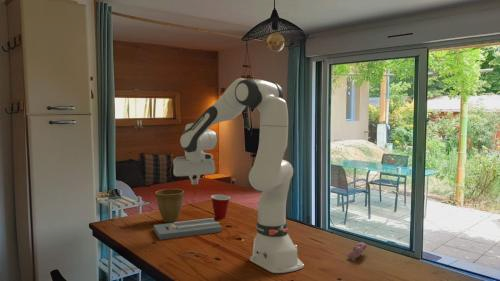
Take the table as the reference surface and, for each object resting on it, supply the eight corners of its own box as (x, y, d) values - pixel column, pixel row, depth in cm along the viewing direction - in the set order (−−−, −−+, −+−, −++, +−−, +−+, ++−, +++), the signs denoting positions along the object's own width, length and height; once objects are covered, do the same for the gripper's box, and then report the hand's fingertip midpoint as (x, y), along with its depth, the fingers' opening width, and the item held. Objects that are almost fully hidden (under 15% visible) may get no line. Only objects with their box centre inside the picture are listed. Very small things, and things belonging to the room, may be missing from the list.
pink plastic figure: (356, 264, 147) (364, 250, 145) (346, 257, 149) (354, 243, 147) (362, 256, 155) (370, 243, 153) (352, 250, 157) (360, 236, 155)
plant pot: (171, 215, 212) (170, 187, 211) (190, 219, 203) (189, 190, 202) (150, 221, 200) (149, 192, 199) (169, 226, 191) (168, 195, 190)
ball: (176, 224, 180) (168, 226, 178) (177, 232, 180) (169, 234, 179) (174, 222, 183) (166, 224, 182) (176, 230, 184) (167, 232, 182)
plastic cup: (229, 220, 202) (229, 198, 202) (209, 220, 203) (209, 198, 202) (231, 215, 213) (231, 194, 212) (212, 214, 213) (212, 194, 213)
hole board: (221, 231, 183) (221, 224, 183) (159, 239, 171) (159, 232, 170) (211, 223, 197) (211, 216, 197) (153, 230, 185) (153, 222, 185)
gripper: (174, 157, 175) (175, 187, 175) (216, 155, 183) (216, 183, 184) (171, 156, 180) (172, 184, 181) (211, 154, 189) (212, 181, 190)
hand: (194, 184), depth 183 cm, fingers closed
